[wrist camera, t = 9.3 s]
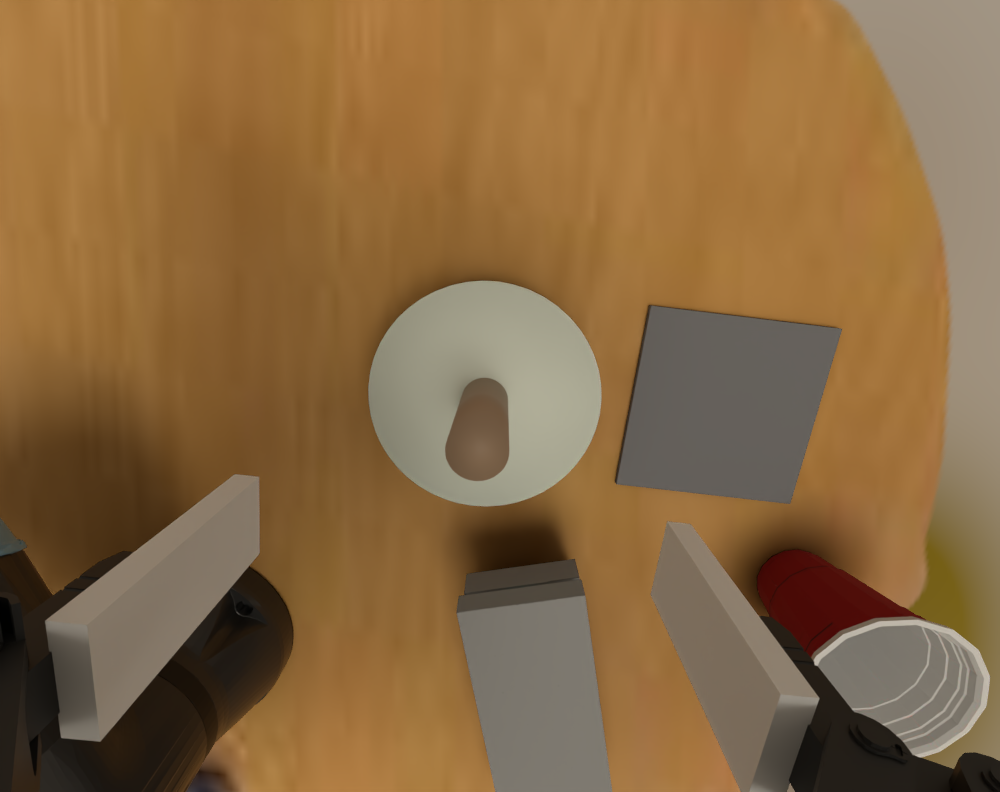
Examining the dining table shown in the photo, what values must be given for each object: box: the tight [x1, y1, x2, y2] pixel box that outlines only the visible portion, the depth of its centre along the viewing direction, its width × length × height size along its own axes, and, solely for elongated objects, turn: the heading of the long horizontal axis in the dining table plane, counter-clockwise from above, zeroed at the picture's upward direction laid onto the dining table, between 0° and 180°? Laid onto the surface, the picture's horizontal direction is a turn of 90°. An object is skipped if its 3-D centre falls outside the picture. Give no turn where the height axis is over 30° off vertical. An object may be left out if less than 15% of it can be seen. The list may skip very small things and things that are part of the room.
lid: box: [368, 281, 601, 506], centre depth 28 cm, size 15×15×10 cm
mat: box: [615, 305, 842, 504], centre depth 37 cm, size 14×14×1 cm
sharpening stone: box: [457, 559, 612, 792], centre depth 38 cm, size 25×8×11 cm, turn 9°
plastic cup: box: [757, 549, 990, 758], centre depth 35 cm, size 11×11×12 cm
